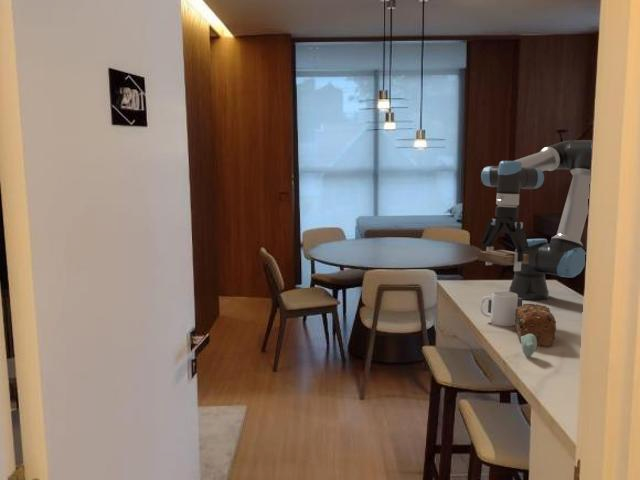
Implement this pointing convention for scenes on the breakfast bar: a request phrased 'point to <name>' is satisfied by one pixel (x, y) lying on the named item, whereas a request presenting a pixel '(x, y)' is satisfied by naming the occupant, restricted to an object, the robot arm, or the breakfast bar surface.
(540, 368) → the breakfast bar surface
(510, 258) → the lid
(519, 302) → the block
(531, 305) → the bread
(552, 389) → the breakfast bar surface
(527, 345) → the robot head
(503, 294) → the cup
